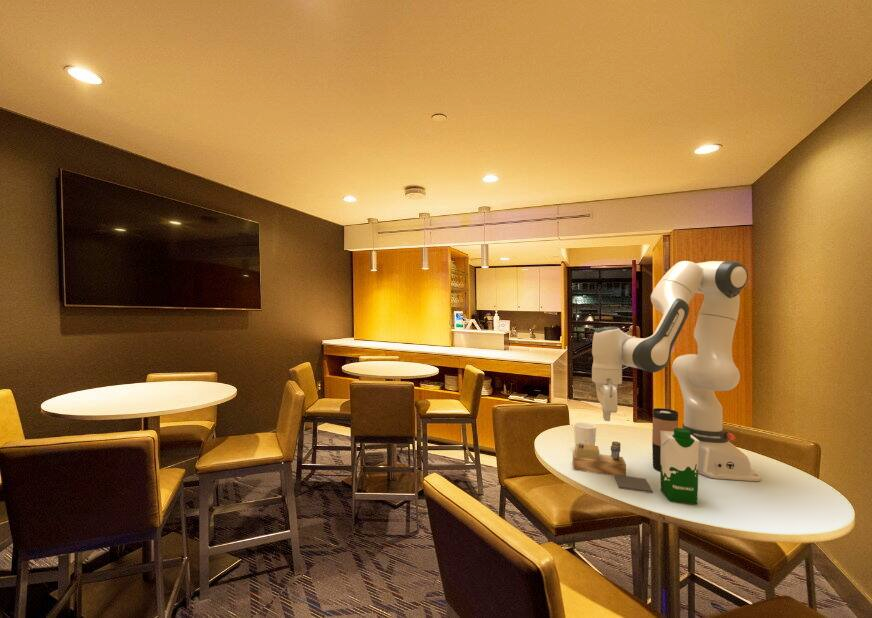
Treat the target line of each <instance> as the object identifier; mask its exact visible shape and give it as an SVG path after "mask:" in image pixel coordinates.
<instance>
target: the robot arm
mask: <svg viewBox="0 0 872 618" xmlns="http://www.w3.org/2000/svg"><path fill="white" fill-rule="evenodd" d="M748 277H749V273H748V271H747V268H746V267H745V265H743V263H741V262H738V261H734V260H725V261H724V260H723V261H722V260H719V261H718V260H709V261H704V262H702V261H701V262H697V263H696V262H694V261H689V260H680V261H678V262H676V263H674V265H672V266H671V267H670V268H669V270H667V271H666V273H665V274H664V275H663V276H662V278H661V279H660V280H659V281H658V282H657V284H656V286H655V287H654V288H653V290H652V292H651V294H650V301H651V304H652V306H653V307H654V309H656V311H658V312H659V313H660V314H662V318H661V319H660V321H659V322H658V323H659V324H658V325H657V327H656V329H655V330H654V333H653V334H652V335H650V336H647V337H643V338H641V337H637V336H636V337H635V336H633V335H630V334H627V333H626V332H624V331H622V330H621V329H620V327H618V326H603V327H599V328H597V329H596V330H595V331H594V333H593V336H592V346H591V347H592V348H591V354H592V357H593V359H592V360H593V362H592V366H591V381H592V382H593V383H595V391H596V397H597V400H598V402H599V404H600V405H601V410H602V419H603V421H605V422H610V421H611V415H612V413H617V412H618V390H617V389H618V388H619V386H618V385H622V383H623V366H626V367H630V368H635V369H639V370H642V371H645V372H647V373H658V372H660V371H663V369H664V368H665V367H667V365H668V363H669V361H670V358H671V355H672V350H673V347H674V346H675V343H676V341H677V339H678V337H679V336H680V333H681V332H682V330H683V327H684V325H685V323H686V321H687V319H688V317H689V313H690V307H689V304H690V303H691V300H692V299H693V297H694V296H695V295H696V294H703V301H702V303H701V306H700V308H699V312H698V315H697V319H696V323H695V327H694V330H693V338H694V340H695V342H696V345H697V347H696V348H697V354H696V353H688V354H681V355H679V356H677V357H676V358H675V359H674V360H673V361H672V362H673V363H672V366H671V367H672V368H671V369H672V372H673V374H674V376H675V377H676V378H677V381H678V385H679V389H680V391H681V392H680V393H681V395H682V399H683V402H682V403H683V423H682V425H681V426H682V427H681V428H682V429H687V430H689V431H690V432H691V435H693V436H694V437H695V438H696V439H698V440H699V451H698V475H699V474H700V475H702V476H704V477H708V478H709V479H717V480H732V481H733V480H735V481H748V482H749V481H751V482H760V481H761V477H760V474H759V473H758V472H757V471H755V470H754V469H753V468H752V464H751V462H750V459H749V457H748V456H747V455H746V454H745V453H744V452H743V451H741V450H740V449H739V448H738V447H737V446H736V445H734V444H733V443H731V441H734V440H736V436H735V435H734V434H733V433H732V432H728V431H726V430H725V429H723V410H724V409H723V406H722V403H721V402H720V401H719V400H718V398H717V396H716V393H715V392H717V391H718V392H728V391H731V390H733V389H734V388H736V387H737V386H738V384H739V383H740V381H741V375H740V370H739V368H738V367H737V366H736V364H735V362H734V359H733V358H734V357H733V348H732V347H733V339H734V335H735V330H736V325H737V323H738V318H739V313H740V304H741V303H740V301H741V300H740V299H741V297H740V293H741V292H742V290H744V288H745V286H746V284H747V282H748V279H749V278H748Z"/></svg>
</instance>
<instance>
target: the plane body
mask: <svg viewBox="0 0 872 618" xmlns="http://www.w3.org/2000/svg"><path fill="white" fill-rule="evenodd" d="M572 466H573V467H572V468H574V469H575V470H574V469H573V470H574V471H579V470H582V471H581V472H586V471H589V472H588V473H594V472H596V474H601V473H603V474H602V475H609V474H610V475H611V476H615V475H622V476H627V463H626V462H625V459H624V458H623V456H620V452H618V454H617V458H613V457H611V455H610V454H604V453H603V454H601V453H599V460H595V459H587V458H579V457H577V455H576V450H572Z"/></svg>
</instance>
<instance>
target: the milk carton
mask: <svg viewBox="0 0 872 618" xmlns="http://www.w3.org/2000/svg"><path fill="white" fill-rule="evenodd" d="M660 438H661V458H660V471H659V473H660V476H659V477H660V492H661V493H662V494H663V495H664V496H665V498H666V499H667V501H669V502H670V503H671V502H673V503H681V504H687V505H688V504H689V505H695V506H696V505H697V506H698V496H699V495H698V493H699V491H698V490H699V473H698V451H699V440H698V439H696V438H695V437H694V436H693V435H691V432H690V431H689V430H687V429H682V427H681V428H680V427H678V428H674V432H673V431H660Z"/></svg>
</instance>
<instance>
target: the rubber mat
mask: <svg viewBox="0 0 872 618" xmlns="http://www.w3.org/2000/svg"><path fill="white" fill-rule="evenodd" d="M614 479H615V481H616V484H617V486H618V488H619V489H622V490H627V491H635V492H644V493H648V494H649V493H651V494H652V493H653V492H654V490H653V489H652V488H651V486H650V484H649V482H648V480H647V478H643V477H635V476H628V475H626V476H622V475H614Z"/></svg>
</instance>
